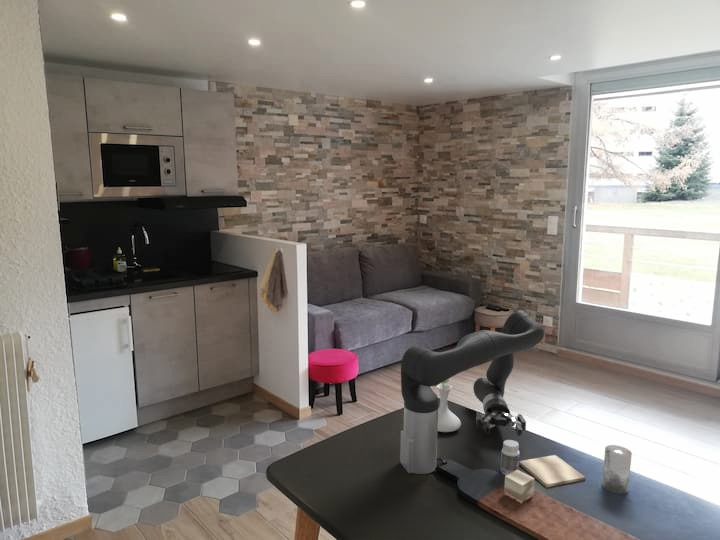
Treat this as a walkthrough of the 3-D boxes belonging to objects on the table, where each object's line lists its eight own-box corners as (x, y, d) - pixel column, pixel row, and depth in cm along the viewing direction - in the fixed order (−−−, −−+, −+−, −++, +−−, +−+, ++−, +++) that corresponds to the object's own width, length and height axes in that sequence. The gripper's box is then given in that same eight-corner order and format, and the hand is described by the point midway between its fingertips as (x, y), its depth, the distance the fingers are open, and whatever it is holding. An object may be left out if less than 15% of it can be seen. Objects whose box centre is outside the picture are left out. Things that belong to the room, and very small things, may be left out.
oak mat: (546, 487, 131) (546, 484, 131) (518, 463, 142) (519, 461, 142) (585, 479, 134) (585, 477, 134) (555, 457, 146) (555, 454, 145)
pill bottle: (520, 477, 135) (522, 447, 134) (503, 476, 135) (504, 447, 134) (515, 467, 140) (517, 439, 139) (498, 467, 140) (500, 438, 139)
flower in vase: (441, 416, 172) (443, 344, 168) (468, 428, 163) (471, 353, 159) (414, 427, 163) (415, 352, 160) (440, 440, 155) (443, 361, 151)
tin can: (614, 495, 127) (617, 458, 126) (596, 482, 133) (599, 446, 131) (633, 491, 129) (637, 454, 128) (615, 479, 135) (618, 443, 133)
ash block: (521, 504, 124) (522, 485, 123) (504, 494, 128) (505, 476, 127) (533, 497, 127) (534, 478, 126) (516, 487, 131) (517, 469, 130)
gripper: (517, 421, 163) (528, 445, 147) (472, 418, 165) (478, 442, 149) (519, 398, 162) (530, 421, 146) (473, 396, 164) (479, 418, 148)
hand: (504, 432), depth 148 cm, fingers open, 8 cm apart
